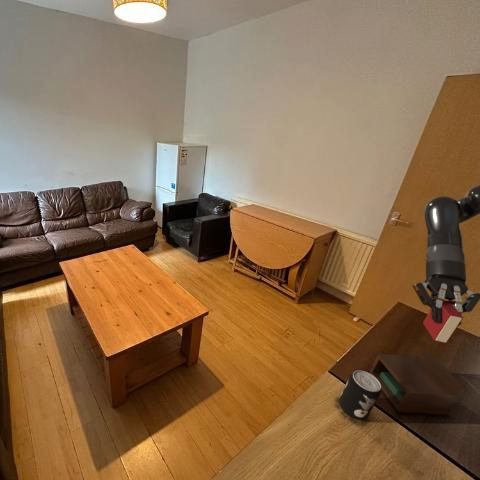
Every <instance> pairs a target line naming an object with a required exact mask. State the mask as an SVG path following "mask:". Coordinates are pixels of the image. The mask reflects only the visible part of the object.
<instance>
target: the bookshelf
mask: <svg viewBox="0 0 480 480" xmlns="http://www.w3.org/2000/svg"><path fill="white" fill-rule="evenodd" d="M368 373H370V374H371V375H373V376H374V377H375V378H376V379H377V380H378V381H379V382H380V384H381V391H382V392H383V394H384V395H385V396H386V397H387V398H388V400H389V401H390V402H391V404H392V405H393V407H394V408H395V409H396V410H397V412H398V413H412V414H427V415H428V414H429V415H443V416H444V415H445V416H446V415H447V414H448V413H449V412H450V411H451V409H452V408H453V406H455V404H456V403H457V402H458V400H459V399H460V397H462V395H463V394H464V392H465V391H466V390H467V386H466V385H464V384H463V383H462V382H461V381H460V380H459V379H458V378H457V377H456V376H455V375H453V374H452V372H450V371H449V369H448V368H446V367H445V366H444V365H443V364H442V363H440V361H438V359H437V358H436V357H434V356H433V355H432V354H431V353H430V352H429V351H428V350H427V349H426V348H421V349H420V350H419V352H418V354H417V355H408V354H407V355H406V354H405V355H404V354H381V353H378V354H377V355H376V357H375V359H374V361H373V363H372V365H371V367H370V368H369V371H368Z"/></svg>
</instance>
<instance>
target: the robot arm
mask: <svg viewBox="0 0 480 480" xmlns="http://www.w3.org/2000/svg"><path fill="white" fill-rule="evenodd" d="M478 215H480V184H478V185H476V186H473V187H471V188H469V189H468V190H467V191H466V194H465V195H464V196H463V197H461V198H459V199H458V200H457V199H455V198H454V197H452V196H446V195H443V196H442V195H441V196H435V197H433V198H432V199H430V200H429V201H428V202H427V203H426V205H425V207H424V220H425V226H426V232H427V234H426V252H425V259H424V261H425V280H424V282H417V283H414V284H412V288H413V290H414V292H415V293H416V295H417V297H418V298H419V299H418V300H420V302H421V304H422V305H423V306H427V307H429V308H430V310H431V318H432V320H434V323H442V322H443V320H442V309H440V308H441V307H442V302H443V300H446V301H449V302H450V303H451V304H452V305H453V306H454V307H455V309H456V310H457V311H458V312H459V313H460V314H461V315H462V314H463V313H471V312H472V311H473V310H474V308H475V307H476V306H477V304H478V302H479V301H480V292H474V291H472V290H469V287H468V286H467V283H466V281H467V269H466V267H467V266H466V255H465V251H464V237H463V232H462V230H461V227H460V224H463V223H464V222H466V221H468V220H471V219H472V218H475V217H477V216H478ZM427 290H428V291H429V292H430V294H429V292H428V291H427ZM462 296H464V298H465V300H464V301H463V298H462ZM461 325H462V321H461V322H460V324H459V325H458V327H459V326H461Z"/></svg>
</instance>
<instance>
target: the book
mask: <svg viewBox="0 0 480 480" xmlns="http://www.w3.org/2000/svg"><path fill="white" fill-rule="evenodd" d="M440 309H442V320H443V322H442V323H434V320H432V318H431V309H430V310H429V312H428V313H427V315H426V317H425V318H424V320H423V322H422V324H423V326H424V328H425V330H426V331H427V332H428V333H429V335H430V336H431V338H432V339H433V341H436V342H440V343H445V344H447V343H448V342H449V340H451V337H452V336H453V334H454V333H455V331H456V330H457V328H458V327H459V326H460V325H459V324H460V322H461V323H462V321H463V319H464V317H463V315H462V313H461V314H460V313H459V312H458V311H457V310H456V309H455V307H454V306H453V305H452V304H451V303H450V302H449V301H447V300H446V299H444V300H443V302H442V307H441V308H440ZM458 325H459V326H458Z"/></svg>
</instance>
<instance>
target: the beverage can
mask: <svg viewBox="0 0 480 480" xmlns="http://www.w3.org/2000/svg"><path fill="white" fill-rule="evenodd" d="M381 394H382V389H381V384H380V382H379V381H378V380H377V379H376V378H375V377H374V376H373V375H371V374H370V373H369V372H368V371H364V370H361V369H360V370H359V369H358V370H355V371H354V372H352V373H351V374H349V377H348V379H347V381H346V383H345V385H344V387H343V388H342V392H341V393H340V396H339V398H338V405H339V406H340V408H341V410H342V411H343V412H344V414H346V415H347V416H348V417H350V418H351V419H354V420H357V421H364V420H365V421H366V420H367V419H368V417H369V416H370V414H371V412H372V410H373V409H374V407H375V405H376V403H377V401H378V400H379V398H380V396H381Z"/></svg>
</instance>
